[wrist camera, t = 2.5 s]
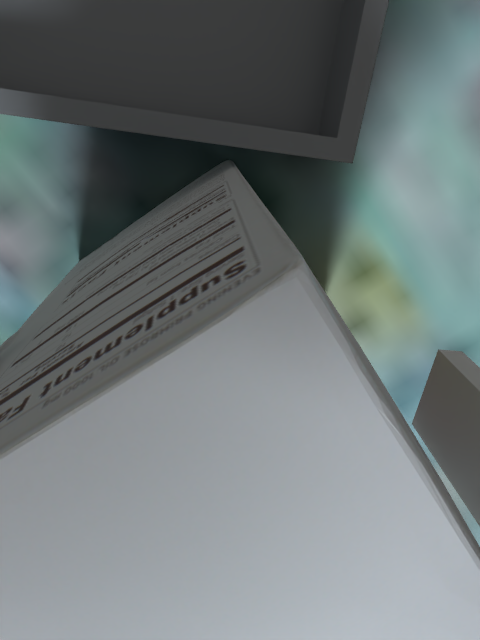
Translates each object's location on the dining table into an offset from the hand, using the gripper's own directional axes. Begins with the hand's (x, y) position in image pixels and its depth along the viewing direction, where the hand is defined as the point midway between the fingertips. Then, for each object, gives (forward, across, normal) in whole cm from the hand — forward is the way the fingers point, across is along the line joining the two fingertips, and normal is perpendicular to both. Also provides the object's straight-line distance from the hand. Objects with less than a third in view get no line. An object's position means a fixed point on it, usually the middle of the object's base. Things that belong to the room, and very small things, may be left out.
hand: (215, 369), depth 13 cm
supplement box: (+10, 0, -1) cm, 11 cm away
